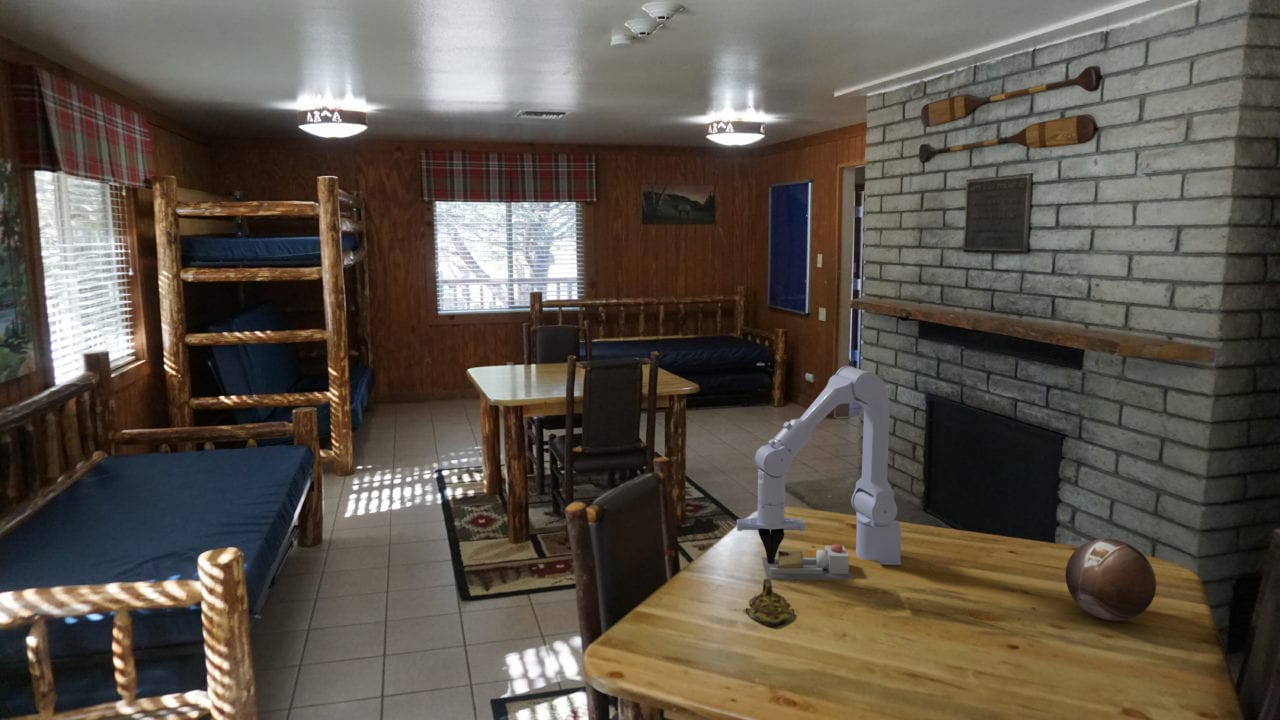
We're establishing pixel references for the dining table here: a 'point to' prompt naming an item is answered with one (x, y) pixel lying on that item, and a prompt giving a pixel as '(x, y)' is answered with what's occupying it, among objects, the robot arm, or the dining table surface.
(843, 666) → the dining table surface
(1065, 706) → the dining table surface
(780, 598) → the seal
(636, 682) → the dining table surface
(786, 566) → the brass fitting
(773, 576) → the valve board
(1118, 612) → the wooden sphere
